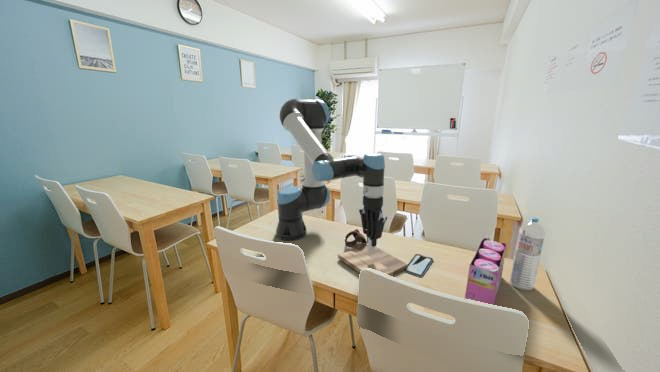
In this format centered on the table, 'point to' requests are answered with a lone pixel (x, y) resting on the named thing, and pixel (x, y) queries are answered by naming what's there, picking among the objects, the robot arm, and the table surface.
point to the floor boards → (385, 259)
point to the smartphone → (418, 265)
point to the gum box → (486, 271)
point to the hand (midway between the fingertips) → (371, 252)
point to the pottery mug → (357, 236)
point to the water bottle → (527, 255)
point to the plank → (362, 261)
